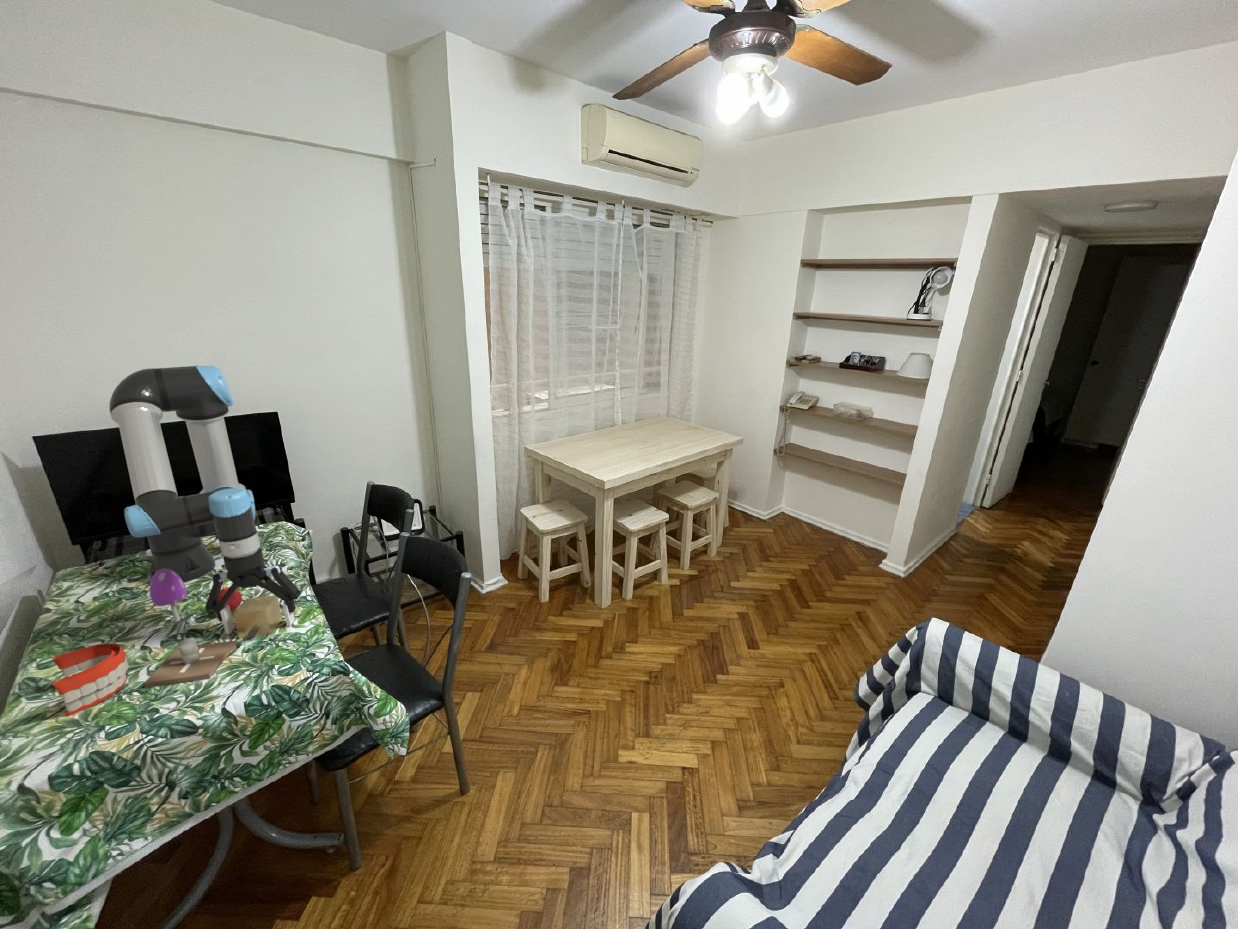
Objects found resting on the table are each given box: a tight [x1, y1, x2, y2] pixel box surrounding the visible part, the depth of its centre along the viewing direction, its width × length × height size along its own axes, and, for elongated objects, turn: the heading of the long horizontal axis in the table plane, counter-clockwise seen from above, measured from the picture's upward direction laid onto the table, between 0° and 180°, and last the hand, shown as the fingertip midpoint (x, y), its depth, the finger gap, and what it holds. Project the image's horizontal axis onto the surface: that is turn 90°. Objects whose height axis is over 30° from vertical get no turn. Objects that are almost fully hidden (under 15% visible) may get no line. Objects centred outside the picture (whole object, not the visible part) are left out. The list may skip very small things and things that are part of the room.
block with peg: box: [232, 594, 283, 639], centre depth 125 cm, size 10×7×7 cm
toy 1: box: [52, 643, 130, 717], centre depth 104 cm, size 12×10×8 cm
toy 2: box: [149, 569, 188, 623], centre depth 127 cm, size 7×7×15 cm
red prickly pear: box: [217, 584, 243, 613], centre depth 131 cm, size 6×6×8 cm
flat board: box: [143, 637, 237, 689], centre depth 112 cm, size 12×12×6 cm
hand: (261, 627), depth 125 cm, fingers open, 13 cm apart
